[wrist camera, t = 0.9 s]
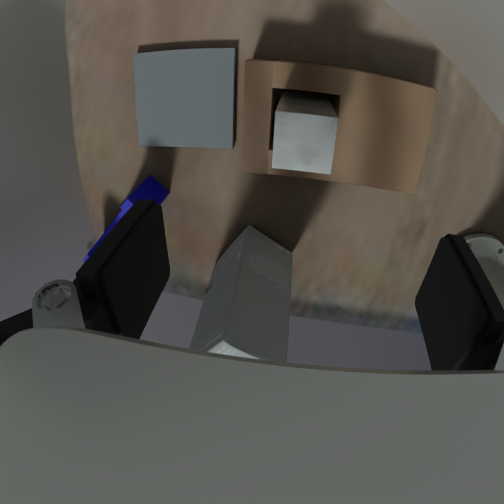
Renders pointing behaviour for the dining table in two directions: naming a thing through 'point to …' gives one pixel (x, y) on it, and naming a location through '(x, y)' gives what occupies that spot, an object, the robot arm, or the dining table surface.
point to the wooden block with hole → (344, 122)
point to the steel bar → (304, 133)
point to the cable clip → (145, 191)
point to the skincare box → (247, 301)
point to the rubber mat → (186, 97)
